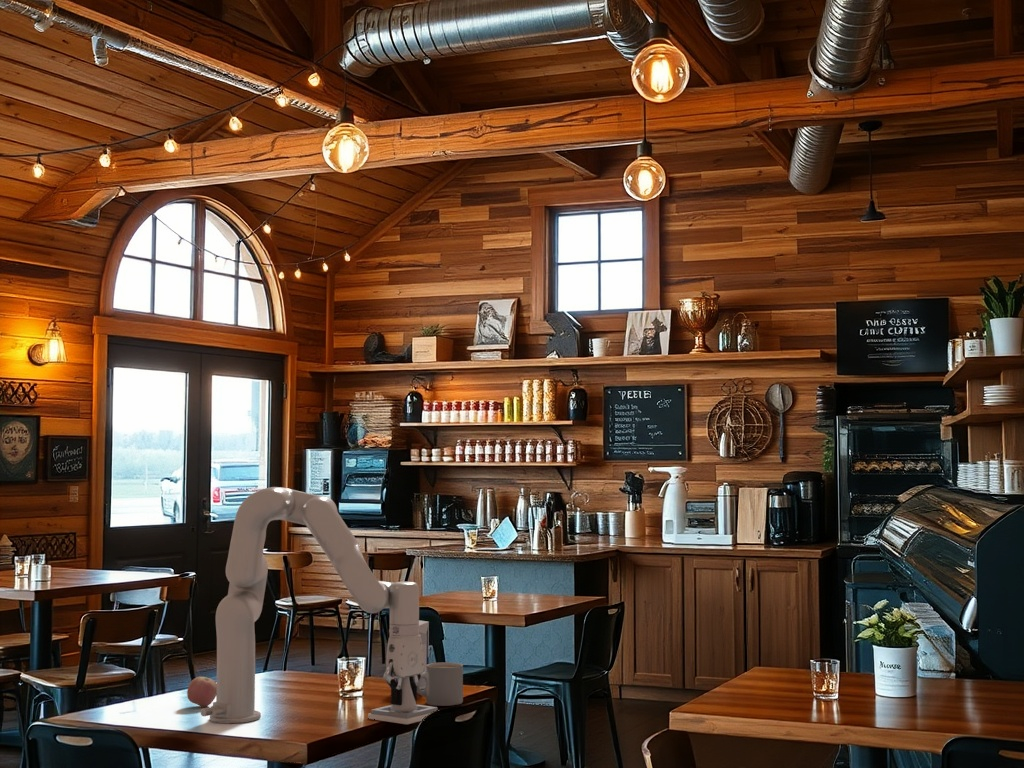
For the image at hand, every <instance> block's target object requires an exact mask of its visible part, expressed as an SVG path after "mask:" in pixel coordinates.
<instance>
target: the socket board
mask: <svg viewBox="0 0 1024 768" xmlns="http://www.w3.org/2000/svg"><path fill="white" fill-rule="evenodd" d="M390 707H391V704H390V705H385V706H382V707H377V708H373V709H370V713H367V719H368V718H369V719H368V720H374V719H375V721H381V722H389V723H395V724H402V725H410V724H415V723H420V722H422V719H423V718H424V717H425V716H427V715H428V714H430V713H431V712H433V711H436V710H438V707H437V706H432V705H430V706H429V705H421V704H417V707H418V709H417V710H415V711H408V712H399V711H391V709H390ZM438 711H439V710H438Z"/></svg>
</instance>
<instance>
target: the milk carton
mask: <svg viewBox="0 0 1024 768" xmlns="http://www.w3.org/2000/svg"><path fill="white" fill-rule="evenodd" d="M429 623H430V621H425V620H420V619H419V635H421V640H422V646H423V658H424V672H426V665H427V664H430V662H429V655H430V654H429V653H430V649H429V647H430V646H429V645H430V643H429V638H430V637H429V635H430V634H429V633H430V631H429V625H430V624H429ZM424 672H423V673H424ZM396 676H397V675H396ZM411 678H412V676H411ZM395 681H396V683H397V679H395ZM419 687H420V689H421V690H424V689H425V687H426V679H425V678H422V679H421V680H420V682H419Z"/></svg>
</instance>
